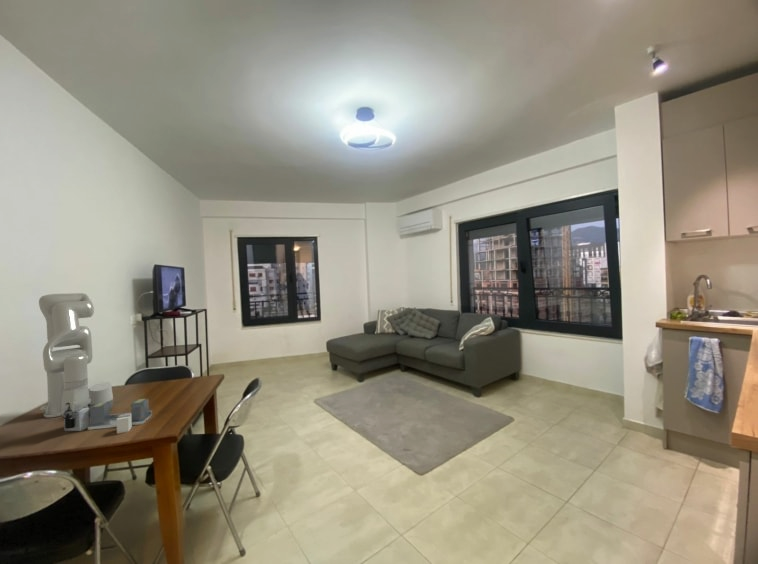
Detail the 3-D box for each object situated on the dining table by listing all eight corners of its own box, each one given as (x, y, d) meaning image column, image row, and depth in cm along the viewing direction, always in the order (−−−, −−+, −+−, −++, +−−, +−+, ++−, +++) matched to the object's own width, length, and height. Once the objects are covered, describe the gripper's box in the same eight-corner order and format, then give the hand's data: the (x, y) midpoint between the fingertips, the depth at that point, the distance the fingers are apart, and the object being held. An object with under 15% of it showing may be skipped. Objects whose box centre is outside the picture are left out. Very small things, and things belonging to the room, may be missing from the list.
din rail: (87, 430, 137) (86, 408, 137) (101, 421, 145) (100, 400, 145) (142, 424, 141) (141, 403, 141) (152, 415, 150) (151, 396, 150)
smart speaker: (84, 417, 150) (84, 388, 150) (92, 410, 158) (91, 383, 158) (109, 413, 154) (109, 385, 154) (116, 407, 162) (115, 380, 162)
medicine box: (90, 426, 140) (90, 407, 140) (80, 431, 135) (79, 411, 135) (74, 426, 141) (74, 407, 141) (63, 431, 136) (63, 411, 136)
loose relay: (116, 433, 132) (116, 419, 132) (120, 429, 137) (119, 414, 137) (128, 431, 134) (128, 416, 134) (131, 426, 139) (131, 412, 139)
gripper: (80, 378, 146) (81, 416, 146) (49, 391, 129) (50, 434, 129) (99, 377, 147) (100, 414, 147) (70, 389, 130) (72, 431, 130)
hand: (77, 423), depth 138 cm, fingers open, 7 cm apart
